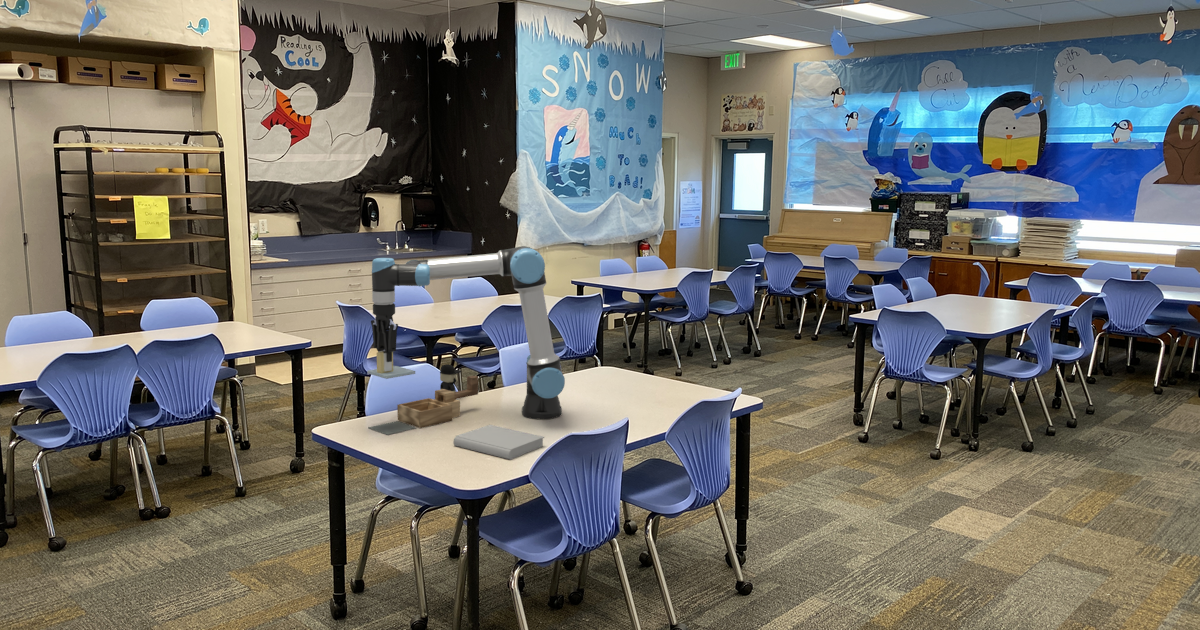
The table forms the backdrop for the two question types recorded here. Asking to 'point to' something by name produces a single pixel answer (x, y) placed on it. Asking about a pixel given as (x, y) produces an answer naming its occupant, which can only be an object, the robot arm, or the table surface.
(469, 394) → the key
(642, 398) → the table surface
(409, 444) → the table surface
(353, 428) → the table surface
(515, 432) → the book
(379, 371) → the lid
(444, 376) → the toy
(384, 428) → the mat
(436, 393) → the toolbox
